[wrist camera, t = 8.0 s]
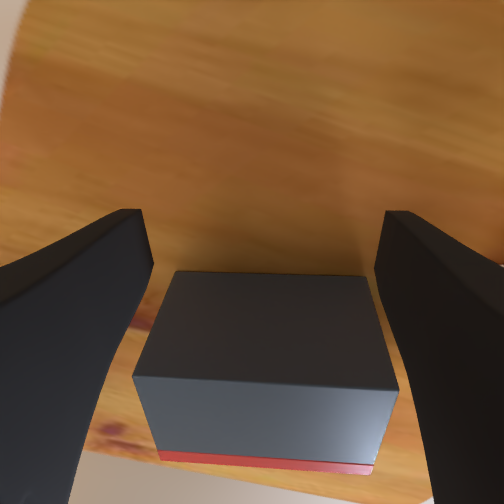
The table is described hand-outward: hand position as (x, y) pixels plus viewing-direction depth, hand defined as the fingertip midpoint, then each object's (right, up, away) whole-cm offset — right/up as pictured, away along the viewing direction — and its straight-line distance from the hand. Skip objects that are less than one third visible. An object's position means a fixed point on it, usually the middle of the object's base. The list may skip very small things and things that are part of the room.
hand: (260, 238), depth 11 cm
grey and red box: (0, -3, +5) cm, 6 cm away
